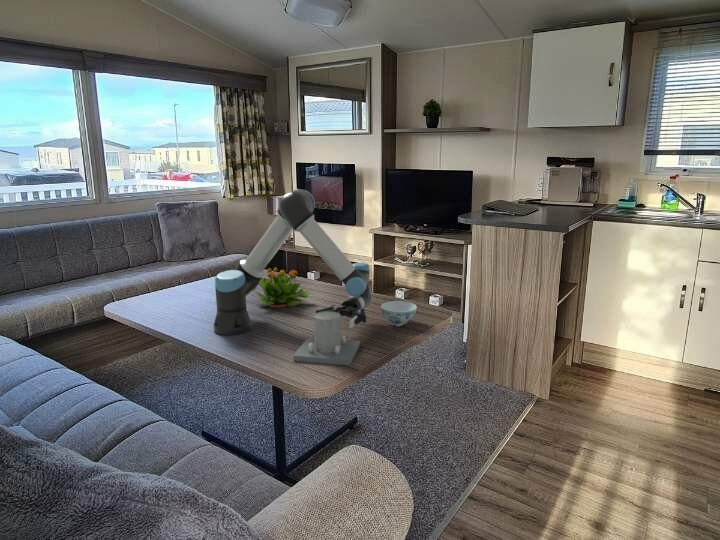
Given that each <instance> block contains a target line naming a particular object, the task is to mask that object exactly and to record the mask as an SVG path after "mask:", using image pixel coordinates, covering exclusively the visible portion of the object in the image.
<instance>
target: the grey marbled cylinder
mask: <svg viewBox="0 0 720 540" xmlns="http://www.w3.org/2000/svg"><path fill="white" fill-rule="evenodd" d="M341 317H342V316H341V315H340V313H337V312H333V311H323V312H318V313H316V312H315V313H314V315H313V322H314V323H313V324H314V325H313V326H314V327H313V328H314V330H313V331H314V338H315V350H316V351H318V352H321V353H333V352H335V346H336V345H339V346H340V349H341V340H342V334H341V332H342V331H341V329H342V328H341V326H342V325H341V324H342V323H341V319H342V318H341Z"/></svg>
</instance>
